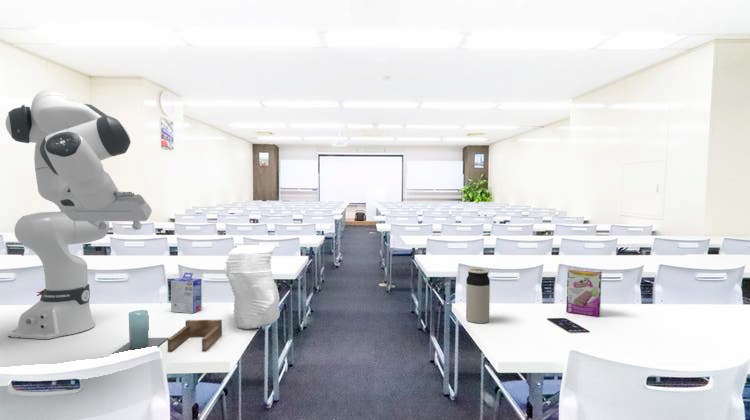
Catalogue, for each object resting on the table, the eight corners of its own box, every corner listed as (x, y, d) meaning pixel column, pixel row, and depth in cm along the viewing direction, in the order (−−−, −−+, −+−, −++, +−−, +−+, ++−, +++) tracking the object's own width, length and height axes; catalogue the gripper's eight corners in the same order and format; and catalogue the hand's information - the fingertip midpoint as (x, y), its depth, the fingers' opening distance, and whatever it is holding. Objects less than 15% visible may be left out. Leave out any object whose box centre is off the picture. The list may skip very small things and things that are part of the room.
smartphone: (569, 332, 130) (545, 318, 145) (569, 334, 130) (545, 319, 145) (591, 332, 130) (565, 317, 145) (591, 333, 130) (565, 319, 145)
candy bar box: (566, 312, 152) (566, 269, 151) (567, 309, 156) (568, 267, 155) (599, 317, 146) (601, 272, 145) (600, 314, 150) (601, 270, 149)
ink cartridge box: (202, 309, 156) (202, 272, 155) (193, 313, 150) (193, 275, 150) (180, 308, 158) (179, 271, 157) (170, 312, 152) (169, 274, 152)
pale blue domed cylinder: (125, 349, 115) (125, 315, 114) (139, 340, 122) (138, 308, 121) (143, 349, 115) (142, 314, 114) (155, 340, 122) (155, 307, 121)
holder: (167, 351, 114) (167, 334, 114) (187, 335, 127) (187, 319, 127) (206, 351, 115) (206, 333, 114) (221, 335, 128) (221, 319, 127)
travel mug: (480, 325, 137) (481, 273, 137) (461, 319, 143) (462, 269, 143) (493, 320, 143) (494, 270, 142) (474, 315, 149) (475, 267, 148)
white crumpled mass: (286, 310, 154) (285, 244, 153) (275, 335, 128) (274, 254, 127) (229, 312, 153) (228, 244, 152) (206, 337, 126) (205, 255, 125)
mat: (106, 357, 110) (106, 356, 110) (135, 339, 124) (135, 338, 124) (144, 357, 110) (144, 355, 110) (168, 338, 124) (168, 337, 124)
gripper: (143, 183, 104) (162, 219, 114) (61, 183, 103) (88, 219, 113) (134, 201, 99) (155, 236, 110) (48, 201, 99) (78, 237, 109)
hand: (120, 227), depth 111 cm, fingers open, 8 cm apart
